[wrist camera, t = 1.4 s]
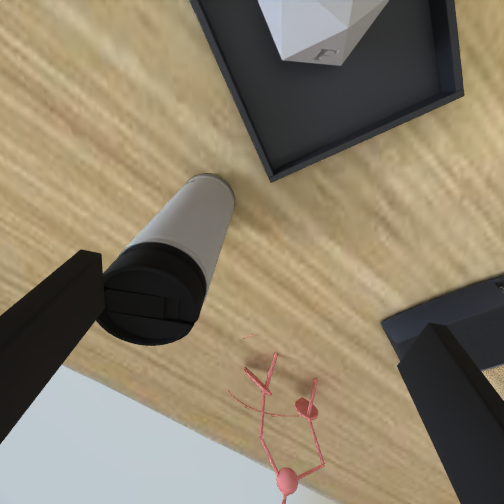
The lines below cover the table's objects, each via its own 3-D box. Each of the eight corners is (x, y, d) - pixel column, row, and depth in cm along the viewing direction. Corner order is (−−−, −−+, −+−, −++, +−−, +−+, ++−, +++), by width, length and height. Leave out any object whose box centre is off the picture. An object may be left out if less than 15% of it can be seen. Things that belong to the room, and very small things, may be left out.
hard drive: (543, 328, 40) (570, 352, 36) (404, 370, 46) (416, 393, 42) (531, 260, 35) (561, 279, 31) (377, 316, 40) (387, 338, 37)
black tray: (149, -100, 22) (133, -126, 19) (393, -304, 17) (415, -374, 14) (270, 175, 31) (270, 183, 29) (446, 95, 27) (464, 95, 24)
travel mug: (181, 166, 31) (71, 258, 14) (239, 179, 32) (202, 283, 14) (177, 217, 35) (84, 344, 17) (230, 228, 35) (191, 363, 17)
